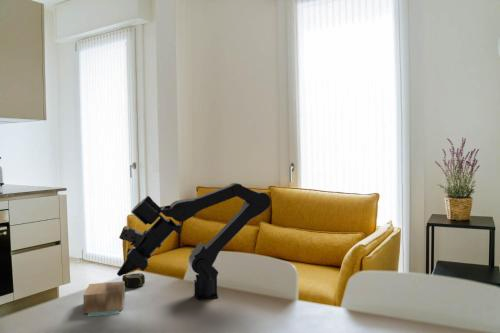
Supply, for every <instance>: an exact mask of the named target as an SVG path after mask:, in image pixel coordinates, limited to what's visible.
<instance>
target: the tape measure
mask: <svg viewBox="0 0 500 333" xmlns="http://www.w3.org/2000/svg"><path fill="white" fill-rule="evenodd" d="M145 277H146V276H145V274H143V273H129V274H124V275H122V281H125V288H126V287H127V288H138V287H137V286H139V287H140V286H143V285H144V284H145V282H146V278H145Z"/></svg>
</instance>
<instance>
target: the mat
mask: <svg viewBox="0 0 500 333" xmlns="http://www.w3.org/2000/svg"><path fill="white" fill-rule="evenodd" d="M120 311H121V310H114V311H103V312H92V313H87V318H88V317H98V316H108V315H110V316H111V315H117V314H120Z"/></svg>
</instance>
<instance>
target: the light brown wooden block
mask: <svg viewBox="0 0 500 333" xmlns="http://www.w3.org/2000/svg"><path fill="white" fill-rule="evenodd" d="M125 290H126V286H125V281H121V280H120V281H110V282H100V283H98V282H97V283H89V284H88V286H87V288H86V290H85V292H84V293H83V314H89V313H92V312H103V311H114V310H120V311H121V310H123V307H124V303H125V299H126V291H125Z"/></svg>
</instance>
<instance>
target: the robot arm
mask: <svg viewBox="0 0 500 333" xmlns="http://www.w3.org/2000/svg"><path fill="white" fill-rule="evenodd" d="M234 198H239V199H241V200H243V201H244V202H243V203H242V206H241V208H240V209H239V211H238V212H237V213H236V214H234V216H233V217H232V218H231V219H230V220H229V221H228V222H227V223H226V224H225V225H224V226H223V227H222V228H221V229H220V230H219V231H218V232H217V233H216V235H214V236H213V237H212V239H210V240H209V242H207V243H205V244H203V243H202V242H199V243H198V244H197V245H196V247H195V248H193V249H192V250H190V255H189V256H188V264H189V266H190V268H191V269H192V271H193V272H194V273H195V279H193V295H194V296H195V297H196V300H208V299H209V300H210V299H218V298H219V294H218V274H219V271H218V270H217V268H216V267H215V266H214V263H215V262H216V260H217V257H218V255H219V253H220V252H221V251H222V250H223V249H224V248H225V247H226V246H227V244H228V243H230V242H231V240H232V239H233V238H234V237H235V236H236V235H237V234H239V232H240V231H241V230H242V229H243V228H244V227H245V226H246V225H247V224H248V223H249V222H250V221H251V220H252V219H255V218H256V217H258V216H260V215H262V214H263V213H264V212H266V211H267V210H268V209H269V208H270V207H271V204H272V203H271V201H272V200H271V197H270V196H269V194H267V193H266V192H262V191H258V190H252V189H250V188H248V187H245V186H243V185H242V184H240V183H238V182H233V183H232V182H231V183H230V184H229V185H227V186H224V187H221V188H218V189H216V190H213V191H210V192H207V193H205V194H202V195H200V196H196V197H191V198H184V199H179V200H175V201H173V202H171V204H170V205H162V206H159V205H158V204H157V203H156V202H155V201H154V200H153V199H152V198H151V196H150V195H147V196H146V197H145V198H143V199H142V200H141V201H140V202H138V203H137V204H136V205H135V206H134V207H133V209H132V210H130V213H131V214H132V215H133V216H135V217H136V218H137V219H138V220H139V221H140V222H141V223H142V224H144V226H146V225H152V226H150V227H149V228H148V229H147V230H146V229H145V230H144V231H140V230H137V229H135V228H133V227H130V226H127V225H124V226H123V228H122V230H121V233H120V234H119V238H118V239H120V240H121V241H126V242H129V245H130V247H132V246H133V247H132V248H130V247H128V248H127V252H126V257H125V258H126V259H125V260H124V262H123V263H122V265H121V266H120V267H119V270H118V271H117V272H116V275H117V276H118V277H123V275H127V274H128V273H130V272H132V271H136V270H138V269H140V271H142V272H143V271H145V270H146V269H147V268H148V266H149V259H150V258H151V257H152V255H153V253H154V252H155V251H156V250H157V249H160V248H161V247H162V244H163V243H164V242H165V241H166V240H167V239H168V238H169V237H170V236H171V235H172V234H173V233H174V232H175V233H177V235H179V236H180V235H181V234H182V232H181V231H182V230H181V229H182V224H180V223H182V222H186V221H187V220H189V219H191V218H192V217H194V216H195V215H197V214H198V213H199V212H200V211H202V210H205V209H208V208H210V207H212V206H215V205H218V204H221V203H224V202H225V201H229V200H231V199H234ZM164 216H165V217H164ZM167 218H168V219H167ZM171 218H172V219H171ZM174 220H175V221H176V222H177V223H176V222H175V221H174Z"/></svg>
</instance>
